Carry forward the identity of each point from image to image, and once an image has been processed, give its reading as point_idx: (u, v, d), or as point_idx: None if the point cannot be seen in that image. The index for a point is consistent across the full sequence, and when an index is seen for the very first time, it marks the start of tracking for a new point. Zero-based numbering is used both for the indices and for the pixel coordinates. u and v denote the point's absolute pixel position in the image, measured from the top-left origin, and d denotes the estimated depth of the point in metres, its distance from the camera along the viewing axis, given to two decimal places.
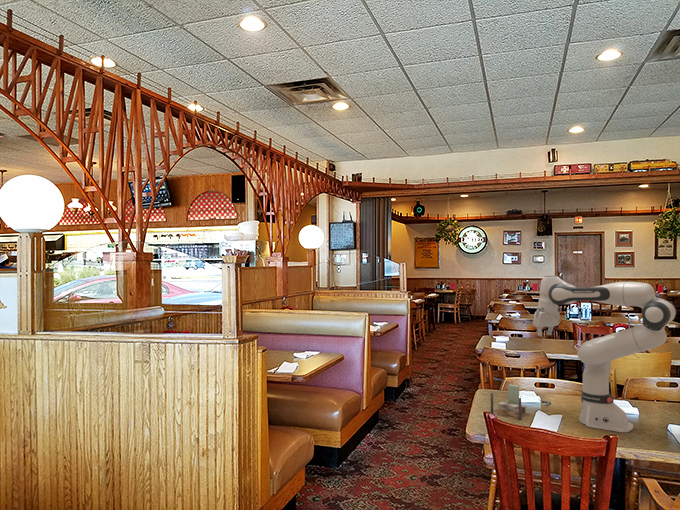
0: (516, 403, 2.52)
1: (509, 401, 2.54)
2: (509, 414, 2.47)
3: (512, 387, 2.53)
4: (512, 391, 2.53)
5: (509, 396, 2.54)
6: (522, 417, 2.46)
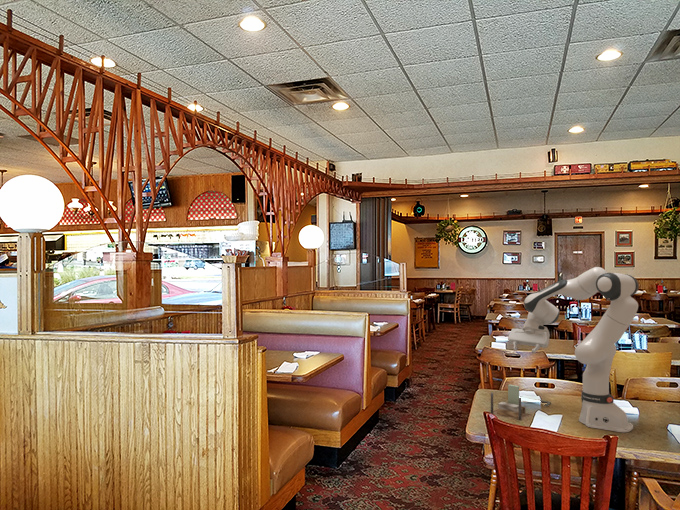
0: (516, 403, 2.52)
1: (509, 401, 2.54)
2: (509, 414, 2.47)
3: (512, 387, 2.53)
4: (512, 391, 2.53)
5: (509, 396, 2.54)
6: (522, 417, 2.46)
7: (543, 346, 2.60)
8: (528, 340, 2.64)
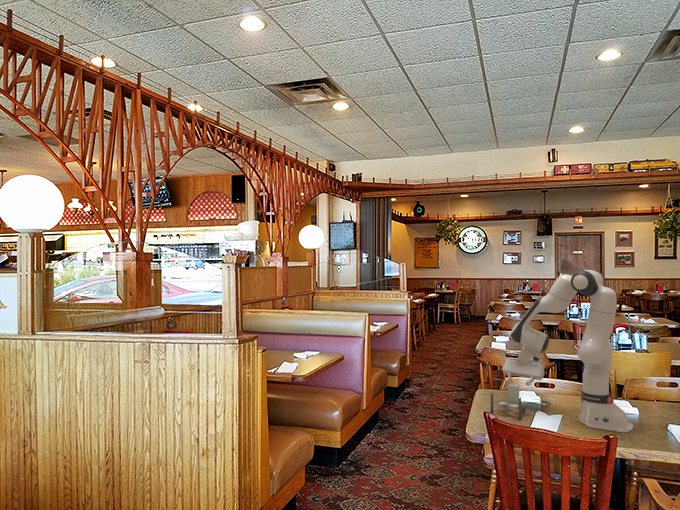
0: (516, 403, 2.52)
1: (509, 401, 2.54)
2: (509, 414, 2.47)
3: (512, 387, 2.53)
4: (512, 391, 2.53)
5: (509, 396, 2.54)
6: (522, 417, 2.46)
7: (538, 378, 2.55)
8: (522, 372, 2.59)
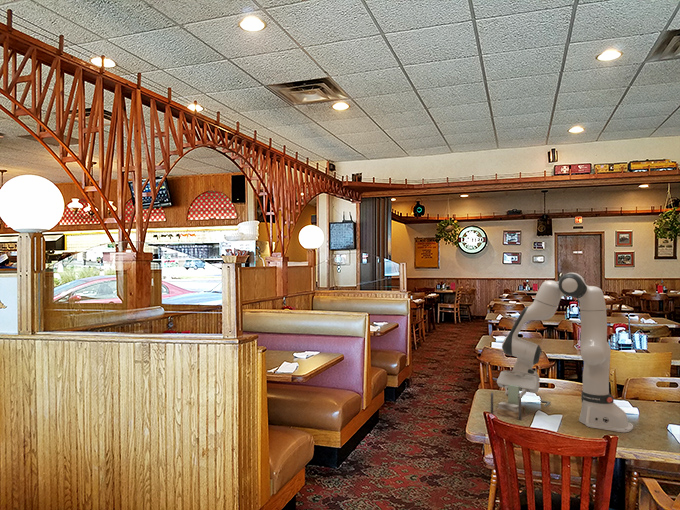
0: (516, 403, 2.52)
1: (509, 401, 2.54)
2: (509, 414, 2.47)
3: (512, 387, 2.53)
4: (512, 391, 2.53)
5: (509, 396, 2.54)
6: (522, 417, 2.46)
7: (533, 391, 2.50)
8: (517, 385, 2.54)
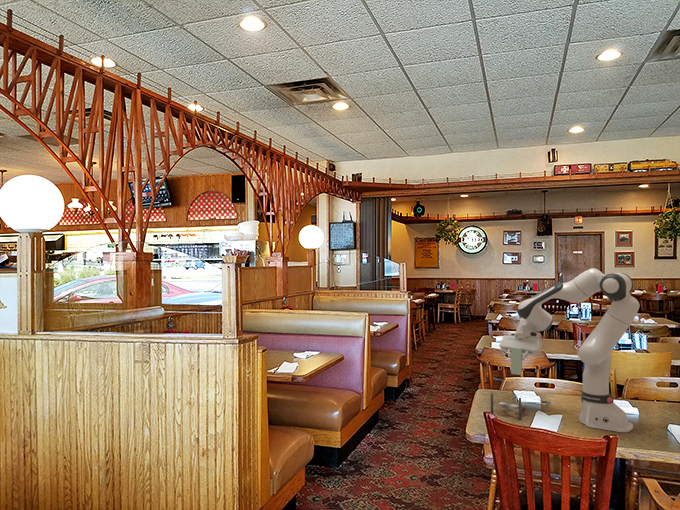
0: (519, 365, 2.55)
1: (512, 363, 2.57)
2: (509, 414, 2.47)
3: (515, 349, 2.56)
4: (515, 353, 2.56)
5: (512, 358, 2.57)
6: (522, 417, 2.46)
7: (535, 353, 2.53)
8: (520, 347, 2.57)
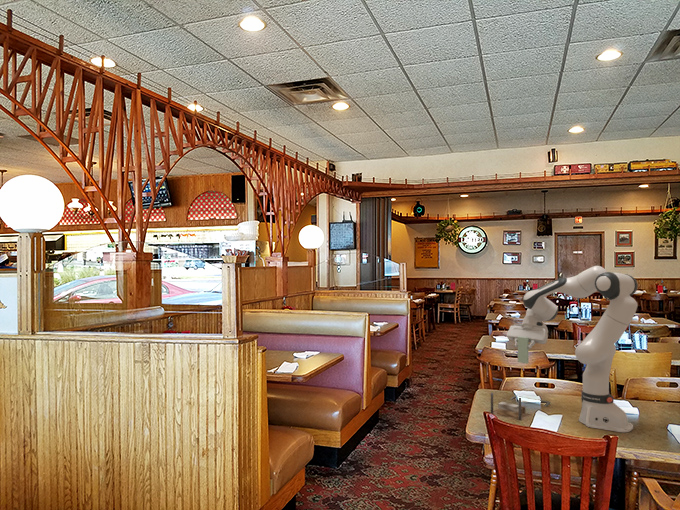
0: (525, 354, 2.62)
1: (519, 352, 2.65)
2: (509, 414, 2.47)
3: (521, 338, 2.64)
4: (521, 342, 2.64)
5: (519, 347, 2.65)
6: (522, 417, 2.46)
7: (541, 342, 2.61)
8: (526, 336, 2.65)
